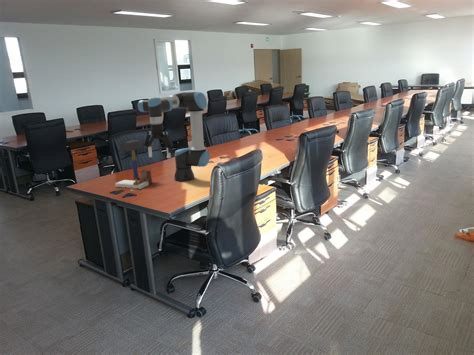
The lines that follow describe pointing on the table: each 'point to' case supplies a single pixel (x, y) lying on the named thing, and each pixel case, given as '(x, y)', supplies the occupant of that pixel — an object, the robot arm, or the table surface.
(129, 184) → the board
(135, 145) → the rubber mallet
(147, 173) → the block
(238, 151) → the table surface
